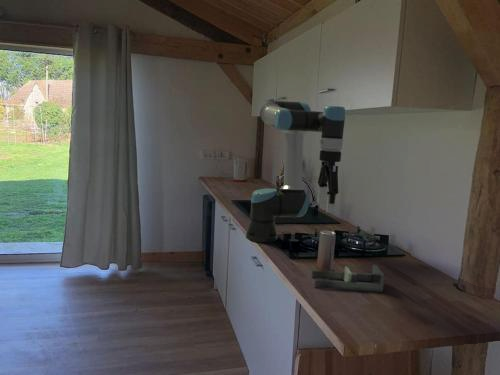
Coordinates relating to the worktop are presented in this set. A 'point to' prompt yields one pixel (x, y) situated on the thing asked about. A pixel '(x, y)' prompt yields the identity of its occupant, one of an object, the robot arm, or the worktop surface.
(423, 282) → the worktop surface
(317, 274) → the lane
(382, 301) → the worktop surface
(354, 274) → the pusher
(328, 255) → the beverage can
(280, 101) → the robot arm
